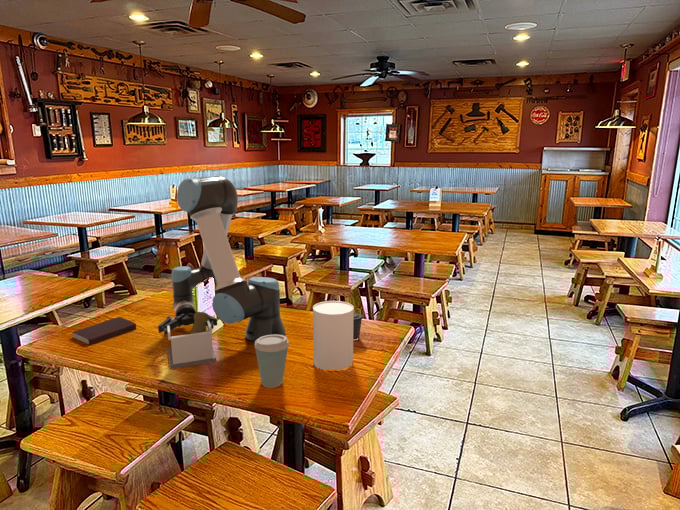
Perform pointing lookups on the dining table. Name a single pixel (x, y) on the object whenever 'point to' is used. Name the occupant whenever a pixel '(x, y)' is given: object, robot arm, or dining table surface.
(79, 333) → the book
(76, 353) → the dining table surface
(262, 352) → the disposable coffee cup
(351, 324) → the canister
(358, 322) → the coffee cup
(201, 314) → the cork
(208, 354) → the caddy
